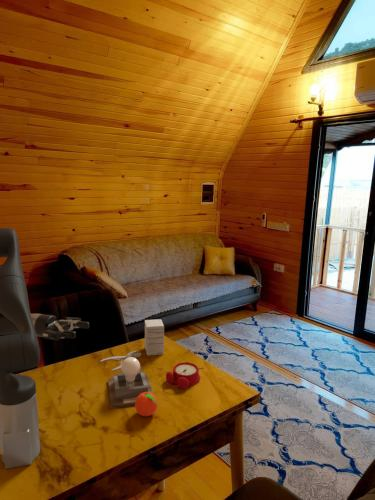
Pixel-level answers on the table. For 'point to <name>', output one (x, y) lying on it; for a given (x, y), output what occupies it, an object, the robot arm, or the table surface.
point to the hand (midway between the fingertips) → (82, 330)
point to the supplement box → (154, 337)
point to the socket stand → (127, 389)
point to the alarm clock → (183, 375)
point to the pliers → (131, 354)
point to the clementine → (146, 404)
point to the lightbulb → (130, 370)
